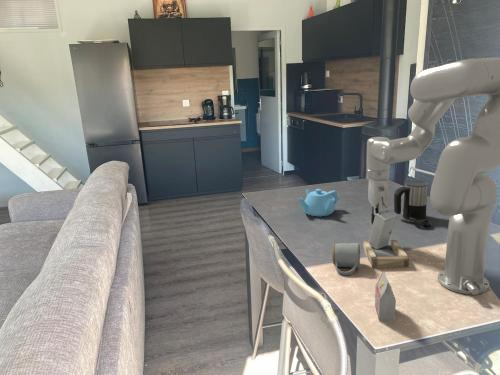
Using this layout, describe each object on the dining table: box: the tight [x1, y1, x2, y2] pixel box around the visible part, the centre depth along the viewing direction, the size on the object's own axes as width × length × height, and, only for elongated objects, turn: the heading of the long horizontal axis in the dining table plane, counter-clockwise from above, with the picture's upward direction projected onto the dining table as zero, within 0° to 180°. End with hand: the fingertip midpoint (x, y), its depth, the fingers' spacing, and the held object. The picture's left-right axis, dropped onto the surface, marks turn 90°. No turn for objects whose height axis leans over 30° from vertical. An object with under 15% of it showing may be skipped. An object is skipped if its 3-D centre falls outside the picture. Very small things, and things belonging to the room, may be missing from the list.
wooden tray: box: [362, 239, 410, 269], centre depth 125 cm, size 14×11×3 cm
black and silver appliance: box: [393, 179, 432, 227], centre depth 153 cm, size 14×16×15 cm
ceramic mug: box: [332, 242, 361, 276], centre depth 119 cm, size 11×8×8 cm
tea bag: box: [374, 270, 397, 323], centre depth 95 cm, size 4×7×10 cm, turn 170°
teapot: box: [297, 188, 339, 218], centre depth 169 cm, size 15×15×11 cm
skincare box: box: [367, 210, 397, 250], centre depth 131 cm, size 6×4×12 cm
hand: (376, 224), depth 135 cm, fingers closed
